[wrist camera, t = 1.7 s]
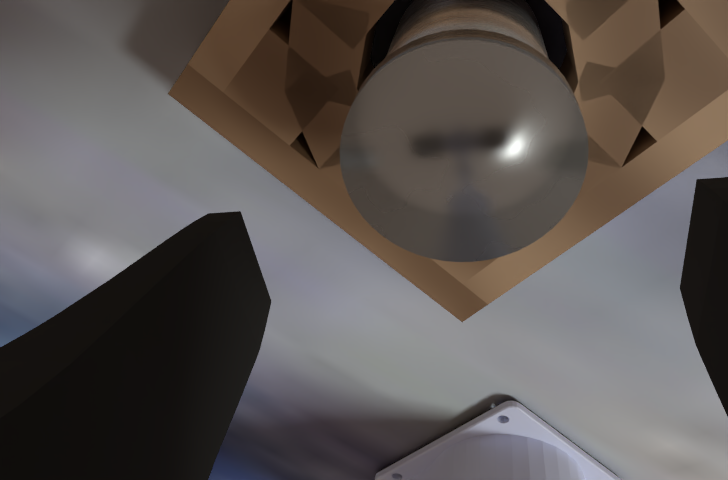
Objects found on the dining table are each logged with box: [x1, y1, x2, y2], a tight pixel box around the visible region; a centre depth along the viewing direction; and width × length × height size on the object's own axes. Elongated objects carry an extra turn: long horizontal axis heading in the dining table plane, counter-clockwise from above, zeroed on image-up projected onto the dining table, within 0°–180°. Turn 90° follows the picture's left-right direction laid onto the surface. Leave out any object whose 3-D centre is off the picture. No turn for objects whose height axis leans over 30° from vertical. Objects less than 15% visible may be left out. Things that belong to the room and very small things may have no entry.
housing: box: [168, 0, 728, 322], centre depth 17 cm, size 12×12×2 cm
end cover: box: [340, 0, 589, 262], centre depth 15 cm, size 5×5×7 cm
